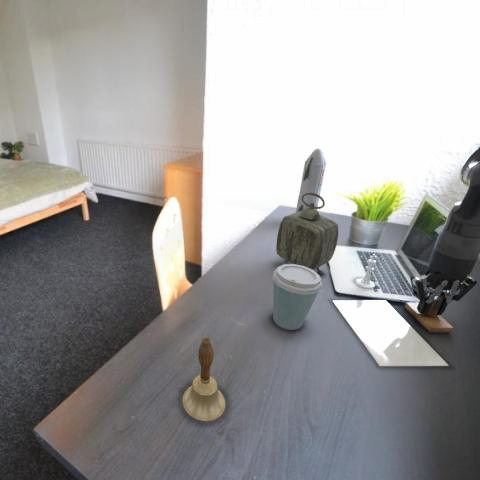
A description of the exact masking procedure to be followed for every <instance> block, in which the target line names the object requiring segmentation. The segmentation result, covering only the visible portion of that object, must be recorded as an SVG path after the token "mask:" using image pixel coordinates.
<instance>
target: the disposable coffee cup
mask: <svg viewBox="0 0 480 480" xmlns="http://www.w3.org/2000/svg"><path fill="white" fill-rule="evenodd" d="M272 280H273V296H272V297H273V298H272V299H273V300H272V301H273V303H272V304H273V305H272V307H273V308H272V320H273V321H274V323H275V324H276V325H277V326H278V327H280V328H281V329H283V330H288V331H294V330H295V331H296V330H299V329H300V328H301V327H303V325H304V323H305V320H306V318H307V316H308V314H309V312H310V310H311V308H312V307H313V304H314V302H315V300H316V298H317V296H318V294H319V292H320V291H321V290H323V281H322V278H321V275H318V274H317V272H316V271H315V269H314V270H312V269H310V268H307V267H305V266H301V265H296V264H293V263H284V264H282V265H279V266H278V267H276V268H275V269H274V271H273V273H272Z"/></svg>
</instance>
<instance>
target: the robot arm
mask: <svg viewBox="0 0 480 480" xmlns="http://www.w3.org/2000/svg"><path fill="white" fill-rule="evenodd" d="M459 178H460V181H461V183H462V184H463V185H465V186H466V187H467V190H466V192H465V194H464V197H462V200H461V201H457V202H455V203H454V204H453V205H452V206H451V207H450V210H449V212H448V214H447V217H446V220H445V222H444V225H443V227H442V229H441V230H440V232H439V234H438V236H437V238H436V240H435V243H434V245H433V249H432V251H431V253H430V256H429V259H428V262H427V263H428V268H427V269H426V271H425V272H424V273H423V274H422V275H420V276H417V275H412V276H410V278H409V279H410V285H411V290H412V295H413V296H414V297H415V298H416V299H418V300H419V301H418V302H419V304H418V306H417V310H418V312H419V313H421V314H422V315H427V314H428V311H429V309H430V307H431V304H432V301H433V300H434V298H435V297H436V296H440V297H442V298H443V302H442V304H441V306H440V308H439V311H438V313H437V315H440V316H442V315H443V314H444V313H445V311H446V309H447V307H448V305H449V304H450V303H452V301H455V302H459V301H461V299H463V298H464V297H465V296H466V295H467V294H468V293H469V292H470V291H471V290H472V289H473V288H474V287H475V286H476V285H477V284H478V281H477V280H476V279H474V278H473V277H472V276H469V275H471V274H472V272H473V270H474V268H475V266H476V263H477V261H478V259H479V257H480V146H478V147H477V148H476V149H475V150H474V151H473V152H472V153H470V155H469V156H468V157H467V159H466V160H465V161H464V163H463V165H462V166H461V168H460V170H459ZM458 291H459V292H458ZM457 292H458V293H457ZM428 295H429V296H428Z"/></svg>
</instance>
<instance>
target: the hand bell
mask: <svg viewBox="0 0 480 480" xmlns="http://www.w3.org/2000/svg"><path fill="white" fill-rule="evenodd" d="M197 352H198V353H197V355H198V356H197V357H198V363H199V365H200V374H198V375H197V376H195V377H194V379H193V381H192V385H191V386H189V387H188V388H187V389H186V390H185V391H184V393H183V395H182V406H183V408H184V410H185V412H186V413H187V415H189V416H191V417H192V418H193V419H195V420H198V421H201V422H211V421H214V420H217V419H218V418H220V417H221V416H222V415H223V413H224V411H225V409H226V398H225V396H224V394H223V393H222V392H221V390H219V388H218V383H217V381H216V380H215V379H216V378H214V377H213V376H212V375H211V366H212V364H213V361H214V356H215V353H214V352H215V351H214V347H213V345H212V342H211V338H208V337H203V338H202V341H201V343H200V345H199V348H198V351H197Z"/></svg>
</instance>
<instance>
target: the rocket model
mask: <svg viewBox="0 0 480 480" xmlns="http://www.w3.org/2000/svg"><path fill="white" fill-rule="evenodd" d="M326 168H327V162H326V158H325V155H324V153H323V151H322V149H320V148H315V149H313V151H312V152H311V154H310V155H309V156H308V158H306V160H305V161H304V166H303V171H302V176H301V182H300V188H299V193H298V198H297V204H296V210H295V213H296V212H298V211H303V210H304V209H306V208H310V207H308V206H306V205H305V204H304V203H303V202H302V196H303V195H304V194H305V193H315V194H318V195H320V196H321V192H322V188H323V181H324V177H325V172H326ZM303 200H304V201H305V202H306V203H307V204H309V205H310V203H314V206H316V207H319V202H320V198H318V197H316V196H313V195H306V196H304V198H303ZM316 210H317V211H318V209H316Z"/></svg>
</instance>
